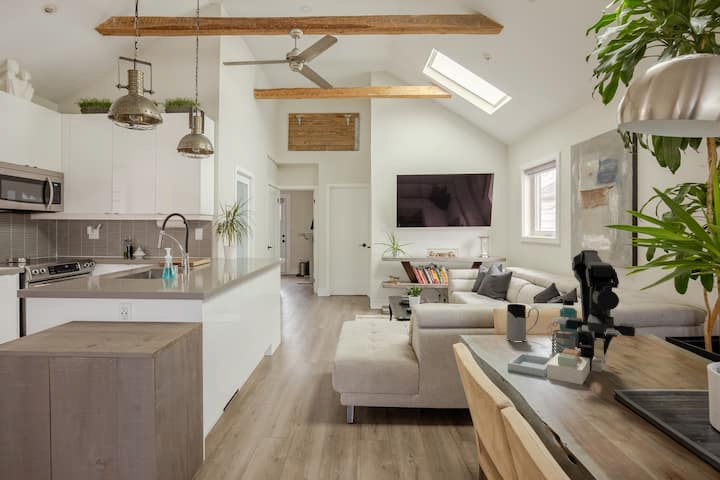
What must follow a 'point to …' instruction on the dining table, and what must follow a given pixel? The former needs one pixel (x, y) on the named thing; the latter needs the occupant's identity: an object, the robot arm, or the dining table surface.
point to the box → (529, 364)
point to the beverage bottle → (568, 316)
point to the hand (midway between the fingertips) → (599, 353)
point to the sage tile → (567, 360)
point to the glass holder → (517, 322)
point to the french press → (561, 335)
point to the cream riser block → (569, 370)
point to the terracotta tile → (572, 353)
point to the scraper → (599, 355)
